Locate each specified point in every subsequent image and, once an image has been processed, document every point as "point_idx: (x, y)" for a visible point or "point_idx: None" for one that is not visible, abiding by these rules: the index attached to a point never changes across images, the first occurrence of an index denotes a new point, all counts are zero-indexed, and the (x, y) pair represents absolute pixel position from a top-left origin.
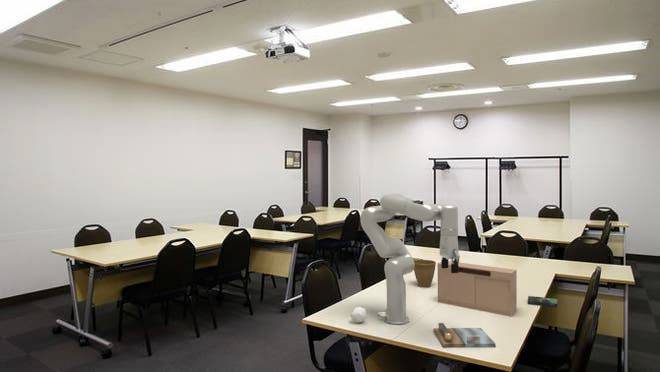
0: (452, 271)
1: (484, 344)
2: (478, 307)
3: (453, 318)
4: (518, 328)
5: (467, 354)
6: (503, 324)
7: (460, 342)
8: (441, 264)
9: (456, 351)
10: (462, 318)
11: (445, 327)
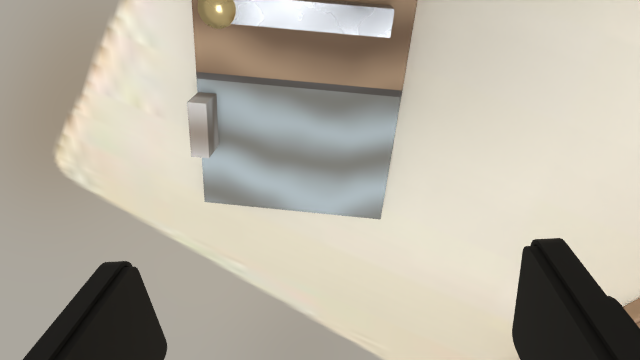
0: (94, 290)
1: (203, 159)
2: (637, 313)
3: (572, 158)
4: (381, 338)
5: (127, 54)
6: (432, 314)
7: (212, 61)
8: (599, 287)
9: (154, 14)
10: (554, 199)
11: (314, 26)
